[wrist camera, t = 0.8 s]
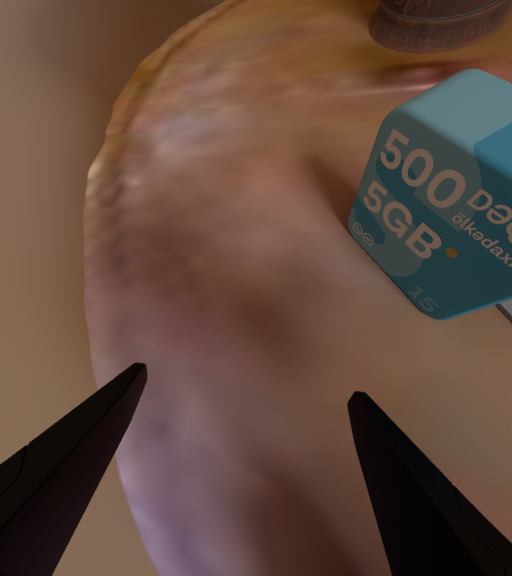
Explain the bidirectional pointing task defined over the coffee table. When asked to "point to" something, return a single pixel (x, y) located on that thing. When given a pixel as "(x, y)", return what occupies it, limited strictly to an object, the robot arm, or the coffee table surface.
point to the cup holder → (436, 23)
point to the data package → (443, 196)
